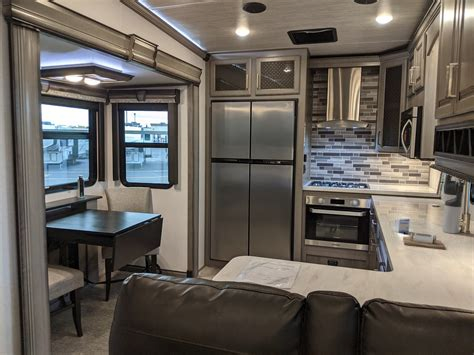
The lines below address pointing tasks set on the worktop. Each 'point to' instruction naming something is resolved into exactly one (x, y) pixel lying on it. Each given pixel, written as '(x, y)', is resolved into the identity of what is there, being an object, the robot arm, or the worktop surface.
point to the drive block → (423, 238)
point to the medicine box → (401, 225)
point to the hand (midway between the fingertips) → (458, 191)
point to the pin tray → (435, 243)
